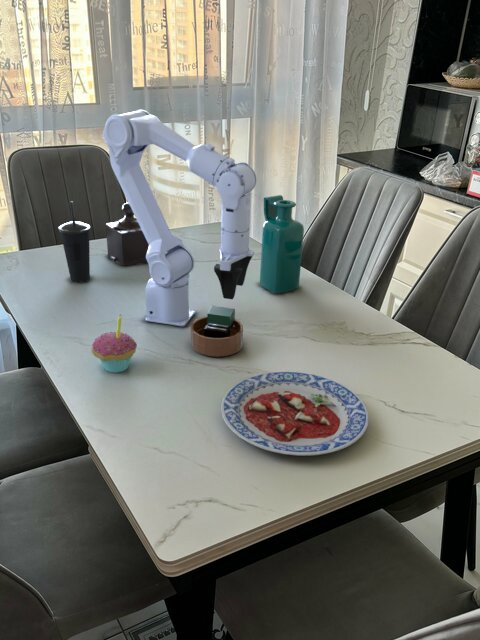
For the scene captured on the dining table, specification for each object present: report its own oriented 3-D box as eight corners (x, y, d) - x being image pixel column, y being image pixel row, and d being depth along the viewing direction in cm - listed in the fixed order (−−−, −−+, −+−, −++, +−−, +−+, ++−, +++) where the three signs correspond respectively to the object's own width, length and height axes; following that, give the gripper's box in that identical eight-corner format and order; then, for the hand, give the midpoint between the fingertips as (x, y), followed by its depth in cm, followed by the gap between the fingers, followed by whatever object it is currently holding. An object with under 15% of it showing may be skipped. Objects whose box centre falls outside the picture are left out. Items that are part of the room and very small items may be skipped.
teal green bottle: (301, 288, 157) (310, 203, 144) (276, 295, 152) (282, 207, 140) (278, 276, 163) (284, 193, 151) (253, 282, 159) (257, 197, 147)
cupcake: (144, 361, 122) (141, 307, 116) (124, 381, 116) (120, 325, 109) (107, 353, 125) (101, 299, 118) (85, 373, 118) (78, 317, 111)
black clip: (204, 344, 128) (204, 326, 126) (207, 339, 130) (207, 321, 128) (226, 348, 127) (227, 330, 125) (229, 343, 129) (230, 325, 127)
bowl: (183, 353, 126) (183, 334, 123) (200, 331, 135) (200, 312, 132) (234, 362, 123) (235, 342, 121) (247, 338, 132) (248, 319, 130)
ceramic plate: (259, 480, 93) (260, 465, 91) (199, 395, 112) (199, 382, 111) (396, 444, 102) (399, 429, 100) (319, 371, 121) (321, 358, 120)
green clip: (207, 313, 126) (213, 304, 130) (207, 323, 128) (213, 314, 131) (230, 316, 125) (235, 307, 129) (229, 327, 127) (235, 318, 130)
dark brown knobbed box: (104, 256, 172) (98, 191, 162) (139, 249, 178) (135, 186, 168) (129, 273, 162) (125, 205, 152) (165, 266, 167) (163, 200, 157)
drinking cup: (101, 277, 159) (94, 200, 148) (80, 287, 153) (71, 207, 142) (80, 271, 162) (71, 195, 151) (59, 280, 156) (48, 201, 145)
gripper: (245, 241, 115) (242, 307, 122) (262, 220, 126) (259, 281, 134) (210, 237, 116) (209, 302, 124) (230, 216, 128) (228, 277, 135)
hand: (233, 291), depth 129 cm, fingers open, 7 cm apart
